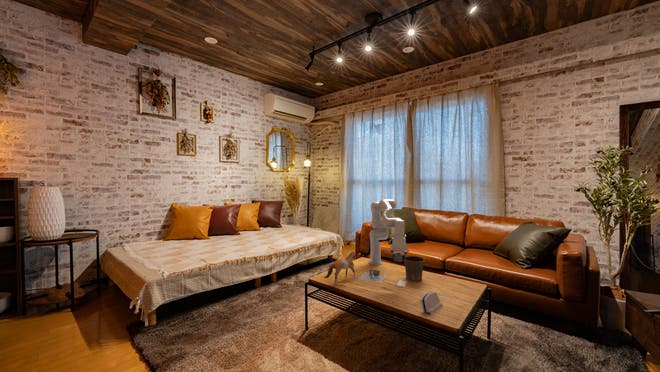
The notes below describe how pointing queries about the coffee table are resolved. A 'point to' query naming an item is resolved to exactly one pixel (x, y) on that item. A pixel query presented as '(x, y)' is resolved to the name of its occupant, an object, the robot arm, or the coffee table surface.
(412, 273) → the plant pot
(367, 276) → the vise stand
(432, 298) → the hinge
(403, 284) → the pad
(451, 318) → the coffee table surface
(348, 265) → the horse figurine
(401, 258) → the collar
